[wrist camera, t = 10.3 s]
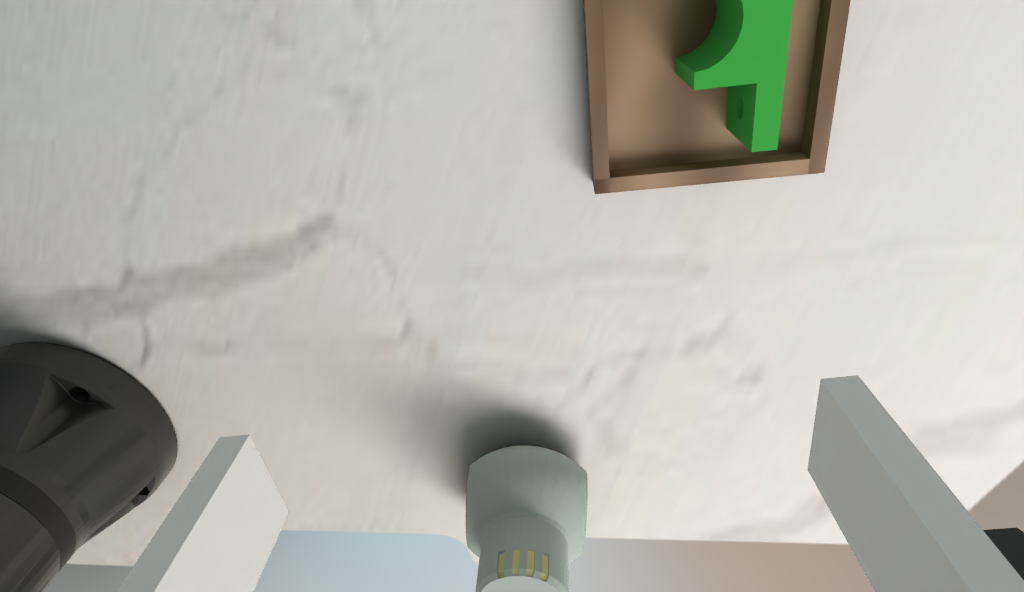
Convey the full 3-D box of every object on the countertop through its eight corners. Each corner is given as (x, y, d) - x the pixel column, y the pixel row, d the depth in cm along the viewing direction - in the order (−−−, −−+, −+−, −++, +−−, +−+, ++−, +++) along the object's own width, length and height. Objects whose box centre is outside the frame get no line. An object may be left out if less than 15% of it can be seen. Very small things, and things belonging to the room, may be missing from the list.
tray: (593, 183, 32) (595, 194, 30) (572, -199, 24) (573, -211, 22) (810, 162, 31) (824, 172, 29) (867, -250, 22) (890, -266, 21)
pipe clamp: (677, -129, 24) (700, -149, 20) (768, -144, 24) (811, -167, 20) (673, 134, 30) (692, 159, 26) (748, 126, 29) (778, 150, 25)
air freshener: (576, 527, 47) (581, 655, 38) (476, 521, 47) (458, 646, 38) (587, 427, 41) (595, 550, 33) (473, 421, 42) (452, 541, 33)
